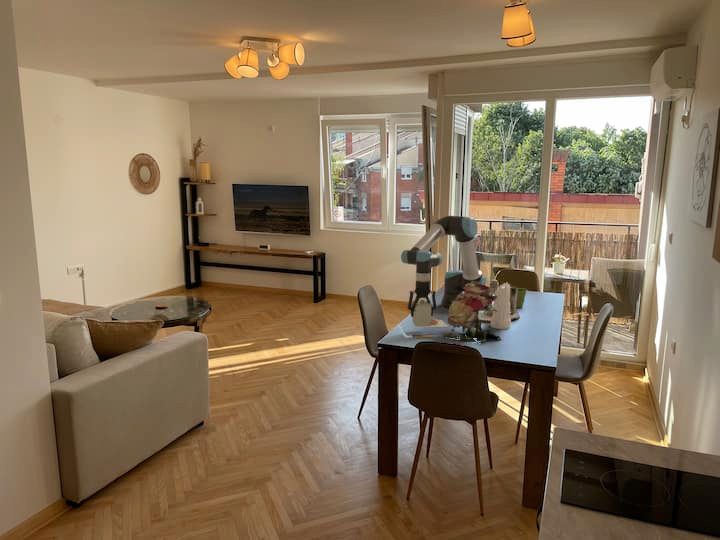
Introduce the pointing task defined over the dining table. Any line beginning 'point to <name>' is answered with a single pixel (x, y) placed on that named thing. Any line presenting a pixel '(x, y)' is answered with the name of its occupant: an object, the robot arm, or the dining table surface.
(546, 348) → the dining table surface
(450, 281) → the robot arm
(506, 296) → the decorative vase
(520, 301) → the plant pot
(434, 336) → the tan mat
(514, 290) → the coffee box
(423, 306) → the sage cover
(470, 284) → the rose bouquet
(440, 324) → the cream plate
